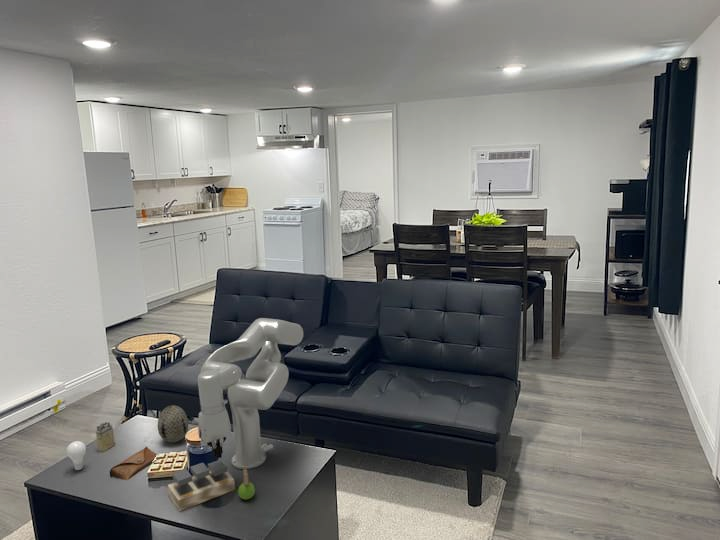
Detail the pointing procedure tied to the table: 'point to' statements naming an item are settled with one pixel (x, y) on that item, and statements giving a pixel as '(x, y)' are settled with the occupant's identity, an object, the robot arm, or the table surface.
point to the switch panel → (200, 490)
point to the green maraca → (246, 487)
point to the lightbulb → (76, 453)
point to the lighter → (105, 436)
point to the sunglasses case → (133, 464)
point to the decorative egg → (172, 424)
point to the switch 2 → (217, 468)
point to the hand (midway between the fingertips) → (218, 456)
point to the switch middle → (200, 470)
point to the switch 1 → (182, 477)
